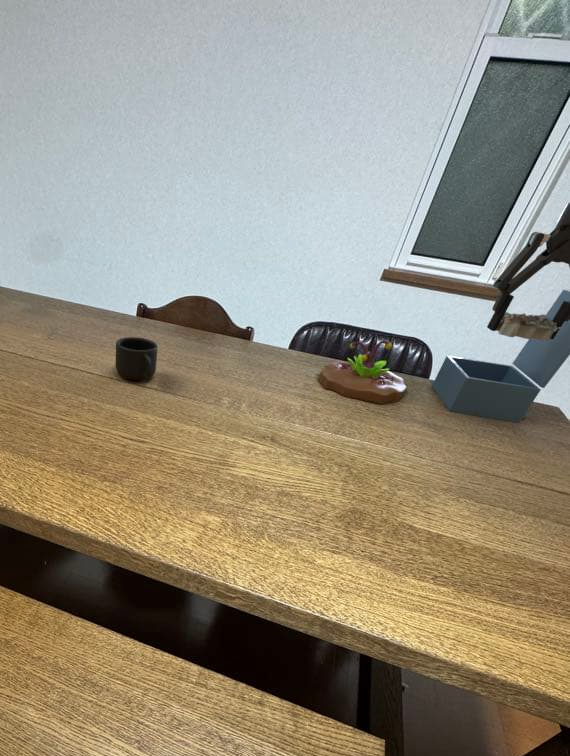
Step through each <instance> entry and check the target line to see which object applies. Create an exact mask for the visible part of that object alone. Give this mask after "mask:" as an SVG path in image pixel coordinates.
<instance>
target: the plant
mask: <svg viewBox="0 0 570 756" xmlns="http://www.w3.org/2000/svg"><path fill="white" fill-rule="evenodd" d="M382 344H384V348H385V349H386V350H391V349H392V347H393V344H392V342H391V341H389V340H387V339H382V340H380V341H379V342H378V343H376V344H375V346H373V348H372V350H371V351H369V350H368V347H367V346H366V345H365V344H364V343H363V342H361V341H353V342H351V343H350V344H349V348H350V349H351V350H353V349H355V348H356V345H359V346H360V347H362V351H363V354H361V353H359V354H358V356H356V355H354V356H353V358H354V360H352V358H349V357H347V361H342V360H334V361H330V362H329V364H328V365H327V366H326V367H325V368H324V369H322V370H321V371H320V372H319V377H318V381H319V383H320V385H322V387H323V389H325V390H327V391H333V392H335V393H338V394H339V395H341V396H343V397H345V398H346V397H347V398H352V399H356V400H361V401H366V402H369V403H374V404H378V405H385V404H389V403H396V402H399V401H400V400H401V398H402V397H403V396H404V395H405V393H406V391H407V388H408V386H407V385H405V383H404V378H403V377H400V376H398V375H397V374H395V373H392V372H391V371H390V368H389V367H388V368H387V367H386V368H383V367H385V366H386V365H387V360H379V361H376V362H375V357H376V354H377V350H378V349H379V348H380V347H381V345H382Z"/></svg>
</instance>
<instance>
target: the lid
mask: <svg viewBox="0 0 570 756" xmlns="http://www.w3.org/2000/svg"><path fill="white" fill-rule="evenodd" d="M564 301H568V302H570V290H567V289H562V290H561V292H560V294H559V295H558V296H557V298H556V299H555V301H554V302H553V304H552V305H551V307H550V308H549V310H548V311H547V313H546V314H545V316H546V317H547V319H550V320H551V321H552V320H553V318H554V317H555V315H556V313H557V312H558V310H559V308H560V307H561V305H562V303H563V302H564ZM569 356H570V320H569V321H568V322H567V321H564V323H563V325H562V326H561V329H559V331H558V333H557V334H556V336H555V337H554V339H549V340H547V341H541V340H538V339H534V338H530V339H527V341H526V343H525V344H524V345H523V347H522V349H521V350H520V352H519V353H518V355H516V357H515V359H514V360H513V361H512V362H511V363H512V366H514V367H516V369H517V370H518V371H521V372H522V374H523V375H524V376H526V377H528V379H529V380H530V381H533V383H534V384H535V385H538V386H539V387H540V388H543V389H544V388H546V386H547V385H548V384H549V382H550V381H551V380H552V379H553V377H554V376H555V375H556V373H557V372H558V371H559V369H560V368H561V367H562V365H563V364H564V363H565V362H566V360H567V359H568V358H569Z"/></svg>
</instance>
